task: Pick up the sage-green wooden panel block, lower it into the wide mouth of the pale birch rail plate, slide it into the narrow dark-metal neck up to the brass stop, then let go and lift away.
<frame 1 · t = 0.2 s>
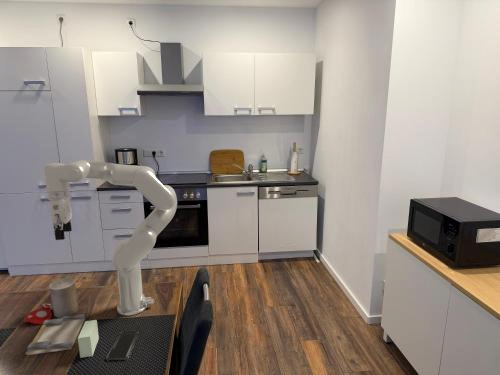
hand: (64, 235, 136), 36 cm above the table, tool pointing down, fingers open, 9 cm apart
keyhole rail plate: (57, 335, 131), on the table
pillar candle: (66, 312, 147), on the table
sage panel block: (90, 347, 124), on the table
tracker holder: (42, 318, 143), on the table
phone: (123, 347, 125), on the table
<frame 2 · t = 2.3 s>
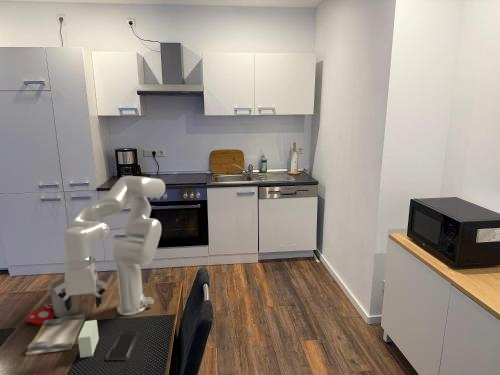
hand: (84, 307, 120), 17 cm above the table, tool pointing down, fingers open, 9 cm apart
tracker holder: (44, 318, 143), on the table
everything else where it was.
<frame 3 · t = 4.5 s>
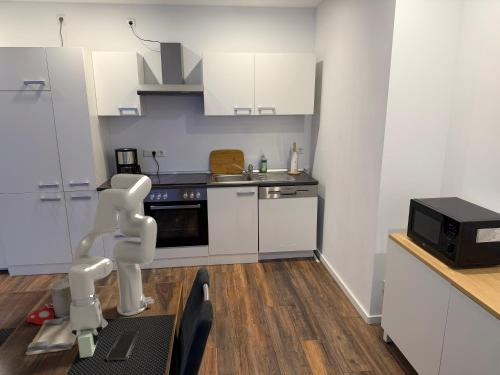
hand: (89, 343, 124), 2 cm above the table, tool pointing down, fingers closed on sage panel block, 3 cm apart
sage panel block: (89, 347, 124), on the table, touching gripper
everything else where it was.
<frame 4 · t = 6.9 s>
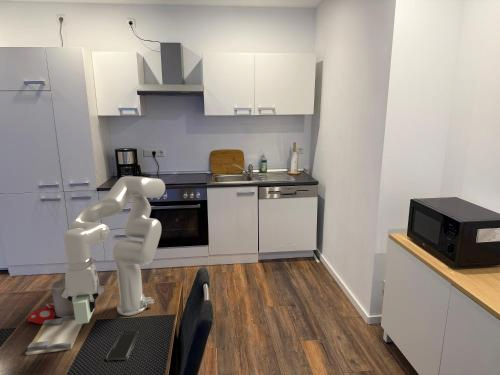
hand: (85, 310, 121), 15 cm above the table, tool pointing down, fingers closed on sage panel block, 4 cm apart
sage panel block: (85, 315, 121), point 13 cm above the table, touching gripper
everything else where it was.
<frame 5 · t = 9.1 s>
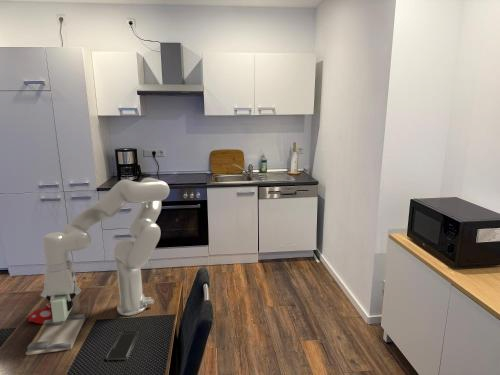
hand: (63, 309, 129), 11 cm above the table, tool pointing down, fingers closed on sage panel block, 4 cm apart
sage panel block: (63, 313, 129), point 9 cm above the table, touching gripper
everything else where it was.
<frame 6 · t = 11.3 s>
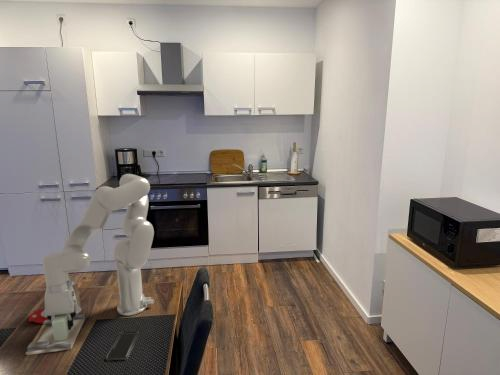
hand: (64, 328, 131), 3 cm above the table, tool pointing down, fingers closed on sage panel block, 4 cm apart
sage panel block: (64, 332, 131), point 1 cm above the table, touching gripper
everything else where it was.
when the fingers open (3 cm above the table, at t = 13.6 s): sage panel block stays where it is, resting on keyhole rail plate.
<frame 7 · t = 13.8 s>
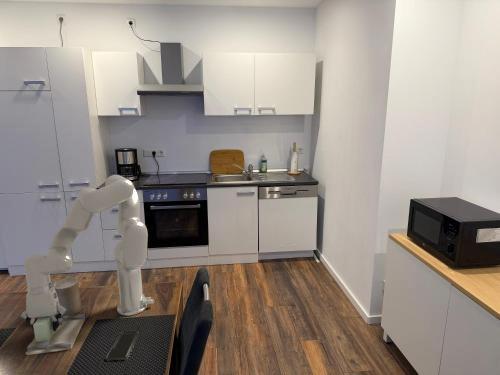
hand: (46, 329, 129), 3 cm above the table, tool pointing down, fingers open, 6 cm apart
sage panel block: (47, 335, 130), point 1 cm above the table, touching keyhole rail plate
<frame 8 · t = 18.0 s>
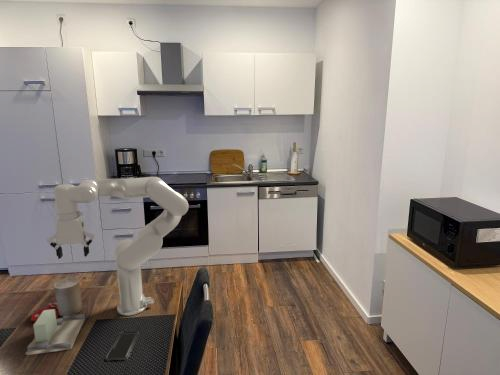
hand: (73, 256, 136), 28 cm above the table, tool pointing down, fingers open, 9 cm apart
at the end: sage panel block 0.2 cm from the target spot on the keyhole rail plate, point 0.8 cm above the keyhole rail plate's base; sage panel block tilted 0°; the gripper is holding nothing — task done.
